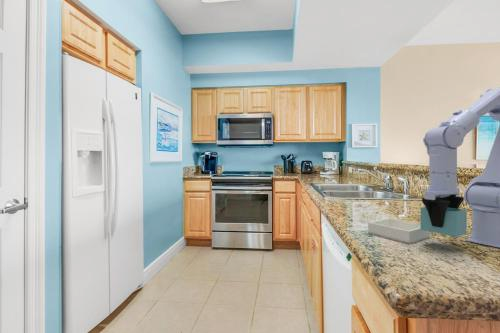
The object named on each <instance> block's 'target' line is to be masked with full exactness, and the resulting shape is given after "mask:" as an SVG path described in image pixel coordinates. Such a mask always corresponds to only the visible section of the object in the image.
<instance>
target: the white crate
mask: <svg viewBox="0 0 500 333" xmlns="http://www.w3.org/2000/svg"><path fill="white" fill-rule="evenodd" d="M367 225H368V226H367V228H368V229H367V234H369V235H371V236H372V235H373V236H375V237H376V236H377V237H379V238H383V239H388V240H393V241H395V242H399V243H403V244H407V245H411V244H414V243H418V242H420V241H423V240H426V239H430V238H431V237H430V236H431V235H430V234H431V233H430V231H425V230H421V223H416V222H412V221H407V220H399V219H395V218H389V217H388V218H383V219H382V218H381V219H379V220H374V221H369V222H367Z"/></svg>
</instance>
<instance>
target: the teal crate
mask: <svg viewBox="0 0 500 333" xmlns="http://www.w3.org/2000/svg"><path fill="white" fill-rule="evenodd" d="M467 213H468V212H467V209H462V208H458V209H456V208H448V207H447V209H446V212H445V218H444V224H443V227H442V228H440V227H434V226H432V224H431V221H430V217H429V214H428V211H427V209H426V207H425V206H421V207H420V224H421V230H425V231H430V232H431V233H435V234H441V235H445V236H450V237H454V238H455V237H456V238H458V237H461V236H464V235H466V234H467V227H468V226H467V220H468V219H467V218H468V217H467Z"/></svg>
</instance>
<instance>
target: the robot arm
mask: <svg viewBox="0 0 500 333" xmlns="http://www.w3.org/2000/svg"><path fill="white" fill-rule="evenodd" d="M487 114H488V115H489V116H490V117H491V119H492V120H493V121H495V122H499V123H500V87H496V88H489V89H487V90H485V91H483V92H482V93H480V96H479V99H477V100H476V101H475V102H474V103H473V104H471V106H470V107H469V108H468V109H458V110H455V111H453V113H452V115H451V116H450V117H448V119H446V120H443V121H442V122H440V125H439V126H437V127H432V128H430V129H429V130H428V131H426V133H425V135H424V137H423V139H422V141H423V144H424V146H425V148H426V153H427V155H428V156H429V157H428V158H429V160H428V162H429V163H428V164H429V166H428V167H429V169H428V171H429V172H428V173H429V174H428V175H429V178H428V180H429V181H428V183H429V186H428V187H429V188H428V187H427V188H424V197H421V202H422V204H423V206H424V207H426V209H427V211H428V214H429V217H430V221H431V224H432V226H434V227H440V228H442V227H443V224H444V218H445V212H446V209H447V207H448V208H456V209H460V206H461V204H462V203H463V202H464V201H465V203H466V205H468V206H469V209H471V212H472V213H471V232H472V233H471V237H467V238H466V239H465V241H467V242H470V243H475V244H480V245H485V246H490V247H494V248H497V249H498V248H499V249H500V125H499V126H498V130H497V132H496V135H495V138H494V141H493V144H492V147H491V150H490V151H489V155H488V158H487V161H486V164H485V166H484V170H483V172H482V173H481V174H480V175H477V176H475V177H473V178H471V180H470V183H469V184H468V186H467V187H466V188H465V190H464V193H463V196H460V188H459V187H458V148H459V147H461V146H462V145H463V143H464V140H465V137H466V136H467V134H468V133H470V132H471V131H472V130H474V129H475V128H476V127H478V125H479V123H480V118H482V117H483V116H485V115H487ZM456 195H457V196H456Z"/></svg>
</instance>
